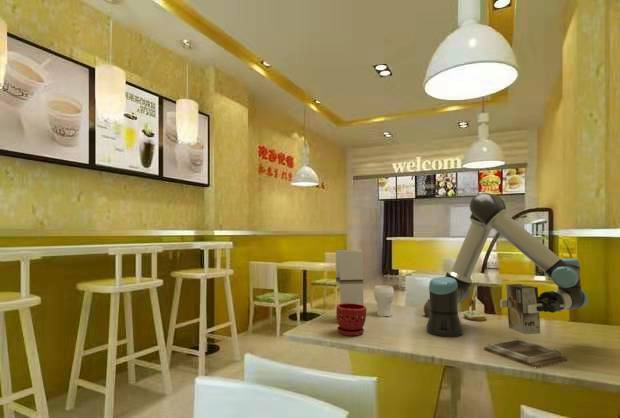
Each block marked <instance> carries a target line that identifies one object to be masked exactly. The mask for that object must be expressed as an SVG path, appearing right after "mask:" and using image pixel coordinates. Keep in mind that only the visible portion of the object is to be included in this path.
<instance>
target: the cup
mask: <svg viewBox="0 0 620 418" xmlns="http://www.w3.org/2000/svg"><path fill="white" fill-rule="evenodd" d="M393 287H394V286H391V285H375V286H374V290H373V296H374V300H375V301H376V304H377V305H376V306H377V310H376V311H377V312H376V315H377V316H378V315H379V316H378V317H383V316H388V317H392V316H391V315H392V309H391V307H392V303H393V301H394V299H395V291H394V290H395V289H394V288H393Z"/></svg>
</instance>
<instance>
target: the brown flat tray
mask: <svg viewBox="0 0 620 418" xmlns="http://www.w3.org/2000/svg"><path fill="white" fill-rule="evenodd" d="M483 350H484V351H487V352H490V353H492V354H495V355H497V356H501V357H503V356H504V358H506V357H507V358H506V359H509V358H510V359H509V360H512V359H513V361H515V360H516V361H515V362H518V363H520V362H521V364H523V363H524V365H526V364H527V365H526V366H529V365H530V367H532V366H533V367H532V368H534V367H536V368H535V369H538V368H537V367H539V368H542V367H541V366H543V367H547V366H551V365H550V364H552V365H554V363H556V364H559V363H558V362H560V363H563V361H564V362H567V361H568V358H567V357H566V356H563V355H561V351H560V350H557V349H553V348H550V347H547V346H543V345H540V344H537V343H533V342H530V341H525V340H522V339H519V338H516V339H511V340H510V339H509V340H505V341H500V342H499V341H498V342H494V343H493V342H492V343H488V344H487V346H484V347H483ZM546 365H547V366H546Z"/></svg>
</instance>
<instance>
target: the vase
mask: <svg viewBox="0 0 620 418" xmlns="http://www.w3.org/2000/svg"><path fill="white" fill-rule="evenodd" d="M423 313H424V316H426V317H427V318H429V316H430V298H429V299H427V301H426V302H425V303H424V305H423Z"/></svg>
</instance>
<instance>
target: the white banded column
mask: <svg viewBox="0 0 620 418" xmlns="http://www.w3.org/2000/svg"><path fill="white" fill-rule="evenodd" d="M363 256H364V255H363V250H359V249H357V250H356V249H353V250H352V249H351V250H350V249H346V250H344V249H343V250H341V249H339V250H337V249H336V250H335V284H336V285H337V286H338V287H339V296H340V297H339V299H340V300H339V302H340V303H339V304H343V303H353V304H360V305H363V306H364V257H363ZM335 316H336V317H335V319H336V320H337V314H336V315H335ZM341 316H342V315H341ZM357 317H358V316H357ZM362 319H363V316H362Z"/></svg>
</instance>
